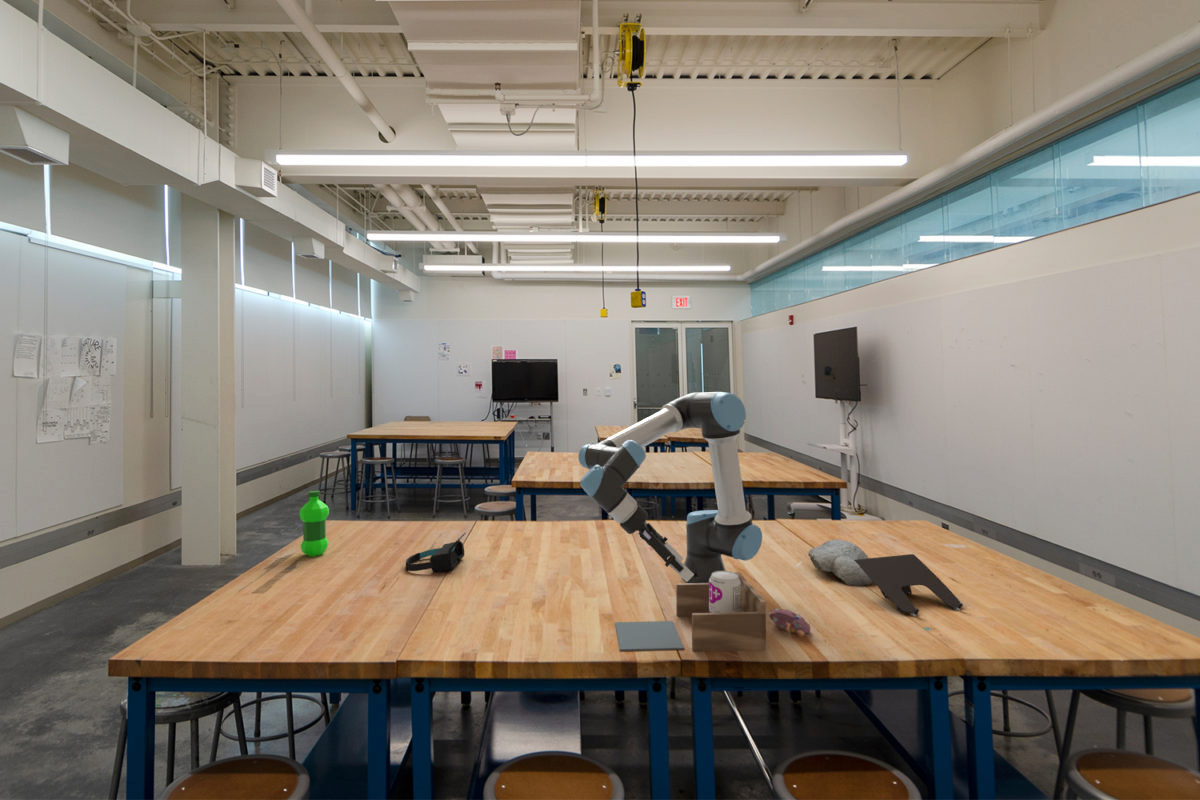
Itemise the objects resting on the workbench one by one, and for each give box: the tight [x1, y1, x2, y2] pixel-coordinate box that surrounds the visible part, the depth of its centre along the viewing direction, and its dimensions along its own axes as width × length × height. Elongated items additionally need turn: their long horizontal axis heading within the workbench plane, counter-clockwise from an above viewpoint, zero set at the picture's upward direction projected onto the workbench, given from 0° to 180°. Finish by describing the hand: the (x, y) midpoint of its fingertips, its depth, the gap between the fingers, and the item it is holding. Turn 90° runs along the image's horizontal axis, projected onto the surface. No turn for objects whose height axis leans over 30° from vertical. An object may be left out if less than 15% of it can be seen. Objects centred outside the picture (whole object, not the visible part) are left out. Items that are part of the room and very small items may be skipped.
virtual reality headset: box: [405, 532, 466, 573], centre depth 205 cm, size 19×22×10 cm
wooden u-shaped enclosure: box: [675, 571, 767, 652], centre depth 148 cm, size 22×18×12 cm
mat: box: [614, 620, 685, 652], centre depth 145 cm, size 16×16×1 cm
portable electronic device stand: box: [854, 553, 964, 617], centre depth 170 cm, size 23×23×9 cm
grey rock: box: [808, 539, 874, 587], centre depth 196 cm, size 28×21×9 cm
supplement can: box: [709, 570, 741, 613], centre depth 148 cm, size 8×8×15 cm
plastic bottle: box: [298, 490, 330, 557], centre depth 218 cm, size 10×10×25 cm
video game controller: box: [769, 607, 811, 634], centre depth 148 cm, size 10×5×7 cm, turn 45°
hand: (684, 569), depth 147 cm, fingers open, 13 cm apart
